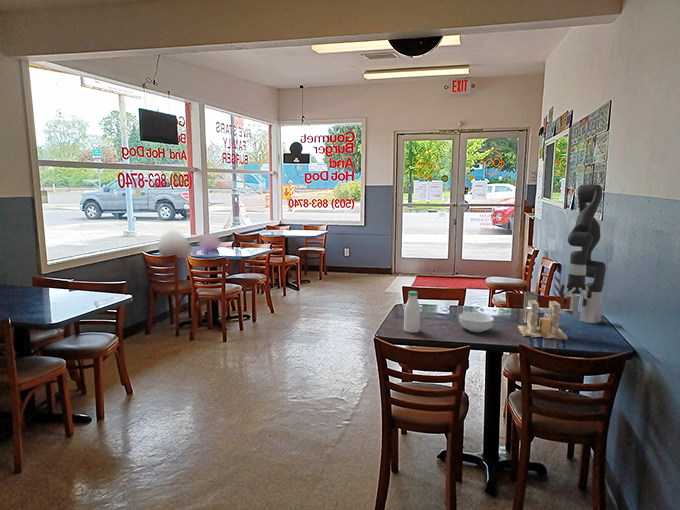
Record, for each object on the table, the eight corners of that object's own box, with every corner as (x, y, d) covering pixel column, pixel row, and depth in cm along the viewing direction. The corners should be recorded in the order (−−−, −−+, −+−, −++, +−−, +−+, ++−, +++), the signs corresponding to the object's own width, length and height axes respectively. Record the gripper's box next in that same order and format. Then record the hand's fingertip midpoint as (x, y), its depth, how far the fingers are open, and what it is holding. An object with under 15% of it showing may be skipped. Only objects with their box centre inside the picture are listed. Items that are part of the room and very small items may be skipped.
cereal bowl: (455, 332, 243) (456, 318, 242) (460, 323, 259) (461, 310, 258) (491, 337, 237) (492, 322, 236) (494, 327, 252) (495, 314, 251)
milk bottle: (421, 332, 241) (423, 293, 238) (406, 333, 240) (407, 293, 237) (416, 328, 249) (418, 289, 246) (401, 328, 248) (403, 290, 245)
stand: (558, 330, 249) (561, 300, 246) (567, 339, 235) (570, 307, 233) (517, 328, 252) (520, 298, 249) (523, 336, 238) (526, 304, 235)
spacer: (547, 329, 246) (548, 317, 245) (550, 333, 240) (551, 321, 239) (538, 329, 246) (539, 317, 245) (541, 332, 240) (542, 320, 239)
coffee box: (538, 325, 258) (540, 295, 256) (525, 324, 259) (527, 294, 257) (534, 320, 267) (537, 291, 264) (522, 319, 268) (524, 290, 266)
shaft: (574, 314, 242) (576, 295, 240) (577, 317, 238) (579, 297, 236) (525, 312, 245) (526, 292, 244) (527, 314, 241) (529, 294, 239)
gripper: (590, 272, 239) (586, 304, 242) (559, 271, 241) (556, 303, 244) (595, 275, 232) (592, 308, 234) (563, 273, 234) (561, 306, 236)
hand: (574, 305), depth 239 cm, fingers open, 8 cm apart
